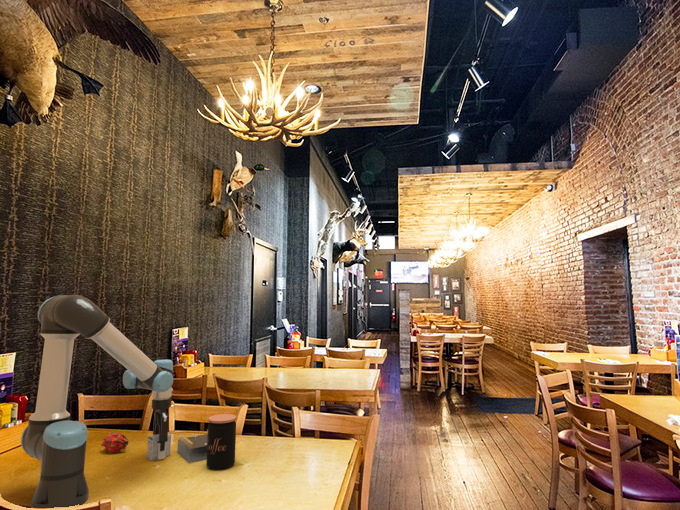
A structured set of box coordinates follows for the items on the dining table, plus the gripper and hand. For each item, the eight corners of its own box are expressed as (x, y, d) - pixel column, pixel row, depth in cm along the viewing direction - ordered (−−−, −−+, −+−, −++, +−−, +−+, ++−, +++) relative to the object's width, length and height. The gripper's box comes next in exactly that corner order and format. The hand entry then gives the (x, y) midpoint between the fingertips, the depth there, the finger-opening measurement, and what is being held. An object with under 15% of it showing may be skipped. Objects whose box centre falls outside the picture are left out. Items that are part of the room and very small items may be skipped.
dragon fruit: (103, 453, 181) (125, 460, 177) (92, 446, 175) (114, 453, 171) (116, 433, 187) (137, 440, 183) (105, 426, 180) (127, 433, 177)
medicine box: (164, 453, 176) (166, 431, 178) (170, 455, 174) (171, 433, 175) (146, 458, 170) (147, 436, 172) (151, 461, 168) (153, 438, 169)
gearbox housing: (230, 454, 176) (230, 436, 177) (189, 463, 166) (189, 444, 167) (216, 444, 188) (217, 428, 189) (177, 451, 178) (178, 434, 179)
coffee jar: (200, 467, 161) (202, 418, 163) (220, 459, 170) (221, 412, 172) (221, 473, 156) (223, 422, 158) (240, 463, 165) (242, 416, 167)
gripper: (177, 400, 170) (175, 461, 167) (165, 393, 185) (162, 448, 182) (158, 403, 165) (155, 465, 162) (146, 395, 180) (143, 451, 178)
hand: (159, 456), depth 172 cm, fingers open, 6 cm apart
